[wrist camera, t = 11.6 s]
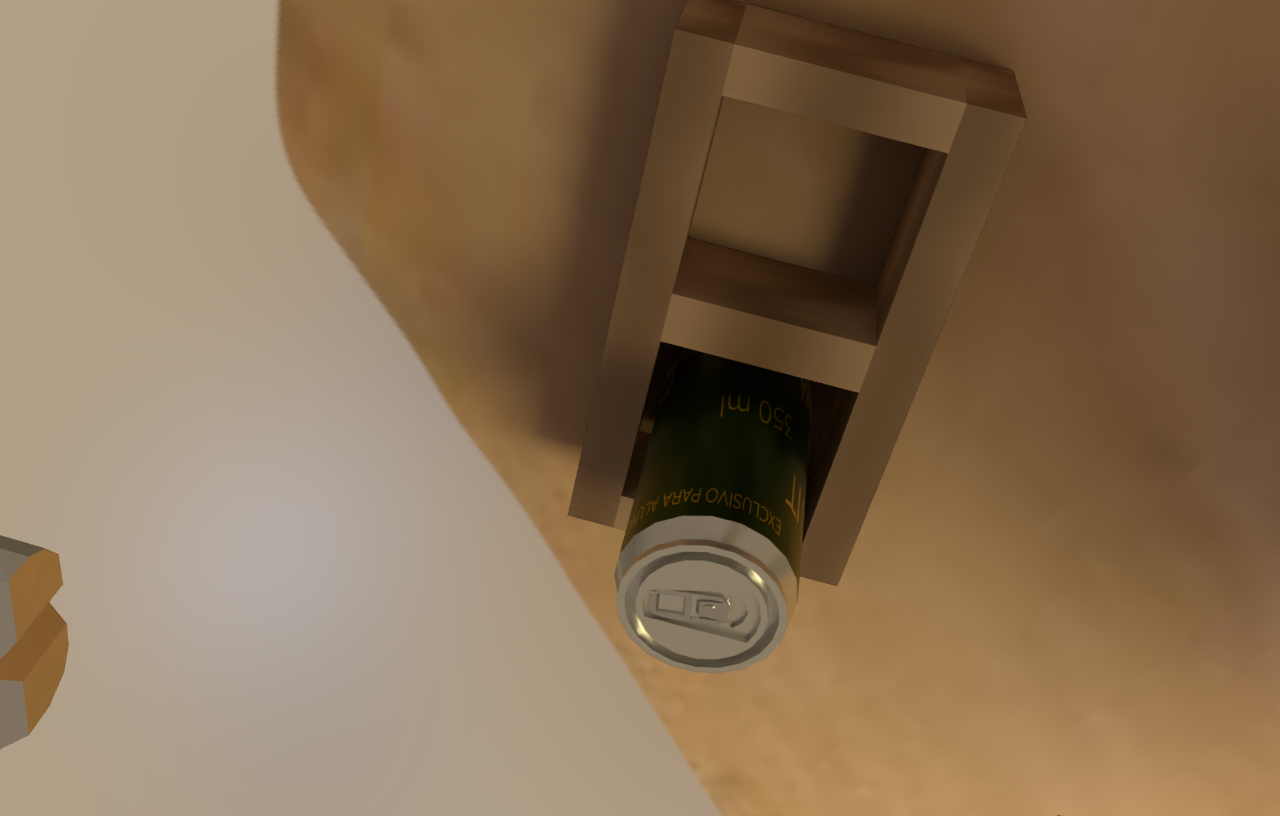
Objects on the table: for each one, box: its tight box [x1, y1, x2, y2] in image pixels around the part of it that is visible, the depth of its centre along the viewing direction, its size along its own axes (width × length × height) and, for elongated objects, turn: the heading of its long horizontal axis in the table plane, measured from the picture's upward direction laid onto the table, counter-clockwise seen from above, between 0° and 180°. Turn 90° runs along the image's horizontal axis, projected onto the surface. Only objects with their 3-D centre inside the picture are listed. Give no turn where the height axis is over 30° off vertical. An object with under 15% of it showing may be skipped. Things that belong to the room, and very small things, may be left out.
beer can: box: [614, 348, 812, 673], centre depth 40 cm, size 5×5×12 cm
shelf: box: [568, 0, 1027, 586], centre depth 41 cm, size 10×18×4 cm, turn 168°
